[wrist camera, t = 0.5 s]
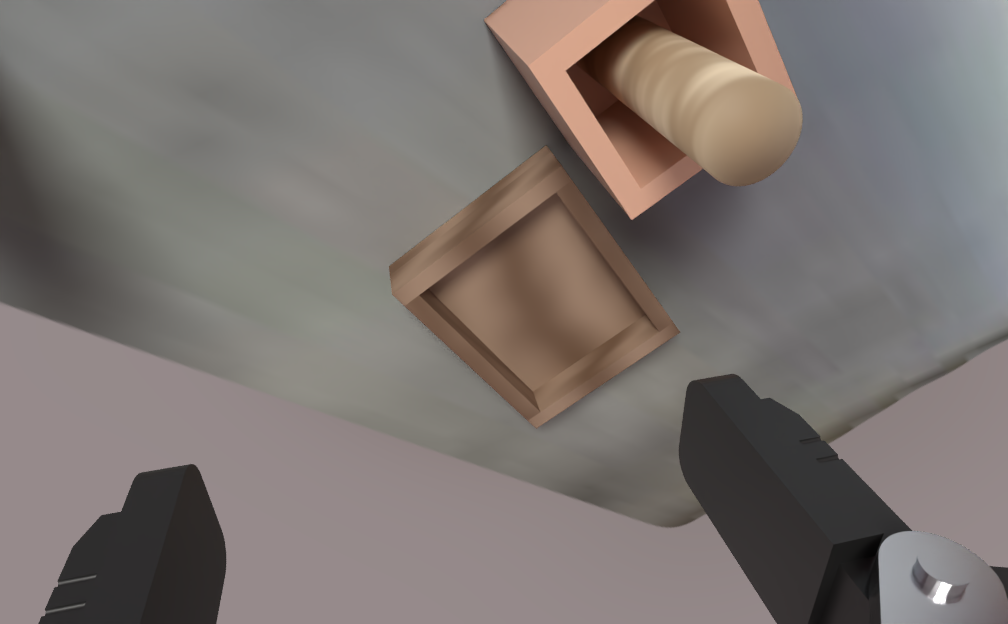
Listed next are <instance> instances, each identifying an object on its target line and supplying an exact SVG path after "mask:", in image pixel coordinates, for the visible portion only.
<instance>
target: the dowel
mask: <svg viewBox="0 0 1008 624" xmlns="http://www.w3.org/2000/svg"><path fill="white" fill-rule="evenodd" d="M576 64H577V65H578V66H579V67H580V68H581V69H582V70H583V71H585V72H586V73H587V74H588V75H590V76H591V77H592V78H593V79H594V80H596V81H597V82H598V83H599V84H600V85H602V86H603V87H604V88H605V89H607V90H608V91H609V92H610V93H611V94H613V95H614V96H615V97H616V98H618V99H619V100H620V101H621V102H622V103H624V104H625V105H626V106H627V107H629V108H630V109H631V110H632V111H633V112H635V113H636V114H637V115H638V116H640V117H641V118H642V119H643V120H644V121H646V122H647V123H648V124H649V125H651V126H652V127H653V128H654V129H655V130H657V131H658V132H659V133H660V134H662V135H663V136H664V137H665V138H666V139H668V140H669V141H670V142H671V143H672V144H674V145H675V146H676V147H677V148H679V149H680V150H681V151H682V152H683V153H685V154H686V155H687V156H688V157H690V158H691V159H692V160H693V161H694V162H696V163H697V164H698V165H699V166H701V167H702V168H703V169H704V170H705V171H707V172H708V173H709V174H710V175H712V176H713V177H714V178H715V179H717V180H718V181H720V182H722V183H723V184H727V185H731V186H746V185H750V184H754V183H756V182H759V181H761V180H763V179H765V178H767V177H768V176H770V175H771V174H773V173H774V172H775V171H776V170H777V169H779V168H780V167H781V166H782V165H783V164H784V162H785V161H786V160H787V159H788V157H789V156H790V155H791V153H792V152H793V150H794V148H795V146H796V144H797V142H798V139H799V136H800V133H801V129H802V109H801V106H800V103H799V101H798V99H797V97H796V96H795V94H794V93H793V92H792V91H791V90H790V89H788V88H787V87H785V86H783V85H781V84H779V83H777V82H775V81H773V80H771V79H769V78H767V77H765V76H763V75H761V74H758V73H756V72H754V71H752V70H750V69H748V68H746V67H744V66H742V65H740V64H738V63H736V62H733V61H731V60H729V59H727V58H725V57H723V56H721V55H719V54H717V53H715V52H713V51H711V50H708V49H706V48H704V47H702V46H700V45H698V44H696V43H694V42H692V41H690V40H688V39H686V38H683V37H681V36H679V35H677V34H675V33H673V32H671V31H669V30H667V29H665V28H663V27H661V26H658V25H656V24H654V23H652V22H650V21H648V20H646V19H644V18H642V17H640V16H638V15H635V16H634V17H633V18H631V19H630V20H629V21H628V22H626V23H625V24H624V25H623V26H621V27H620V28H619V29H618V30H616V31H615V32H614V33H613V34H611V35H610V36H609V37H607V38H606V39H605V40H604V41H602V42H601V43H600V44H599V45H597V46H596V47H595V48H594V49H592V50H591V51H590V52H589V53H587V54H586V55H585V56H584V57H582V58H581V59H580V60H578V61H577V62H576Z"/></svg>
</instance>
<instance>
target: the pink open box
mask: <svg viewBox="0 0 1008 624" xmlns="http://www.w3.org/2000/svg"><path fill="white" fill-rule="evenodd" d="M635 15H638V16H640V17H642V18H644V19H646V20H648V21H650V22H652V23H654V24H656V25H658V26H661V27H663V28H665V29H667V30H669V31H671V32H673V33H675V34H677V35H679V36H681V37H683V38H686V39H688V40H690V41H692V42H694V43H696V44H698V45H700V46H702V47H704V48H706V49H708V50H711V51H713V52H715V53H717V54H719V55H721V56H723V57H725V58H727V59H729V60H731V61H733V62H736V63H738V64H740V65H742V66H744V67H746V68H748V69H750V70H752V71H754V72H756V73H758V74H761V75H763V76H765V77H767V78H769V79H771V80H773V81H775V82H777V83H779V84H781V85H783V86H785V87H787V88H788V89H790V90H791V91H792V92H793V93H794V94H795V96H796V93H795V91H794V88H793V86H792V83H791V81H790V78H789V76H788V73H787V71H786V68H785V66H784V63H783V61H782V58H781V56H780V53H779V51H778V48H777V46H776V43H775V41H774V39H773V36H772V34H771V31H770V29H769V26H768V24H767V21H766V19H765V16H764V14H763V11H762V9H761V6H760V4H759V1H758V0H507V1H506V2H505V3H503V4H502V5H501V6H500V7H499V8H497V9H496V10H495V11H494V12H493V13H491V14H490V15H489V16H488V17H487V18H485V19H484V21H485V22H486V24H487V25H488V27H489V28H490V30H491V31H492V33H493V34H494V36H495V37H496V39H497V40H498V41H499V43H500V44H501V46H502V47H503V49H504V50H505V52H506V53H507V55H508V56H509V57H510V59H511V60H512V62H513V63H514V65H515V66H516V68H517V69H518V71H519V72H520V74H521V75H522V76H523V78H524V79H525V81H526V82H527V84H528V85H529V87H530V88H531V90H532V91H533V92H534V94H535V95H536V97H537V98H538V100H539V101H540V103H541V104H542V106H543V107H544V108H545V110H546V111H547V113H548V114H549V116H550V117H551V119H552V120H553V122H554V123H555V125H556V126H557V127H558V129H559V130H560V132H561V133H562V135H563V136H564V138H565V139H566V141H567V142H568V143H569V145H570V146H571V148H572V149H573V150H574V151H575V153H576V154H577V155H578V156H579V157H580V159H581V160H582V161H583V162H584V163H585V165H586V166H587V167H588V168H589V169H590V171H591V172H592V173H593V174H594V175H595V177H596V178H597V179H598V180H599V181H600V183H601V184H602V185H603V186H604V187H605V189H606V190H607V191H608V192H609V193H610V195H611V196H612V197H613V198H614V199H615V201H616V202H617V203H618V204H619V205H620V207H621V208H622V209H623V210H624V211H625V213H626V214H627V215H628V216H629V217H630V219H631V220H633V219H634V218H635V217H637V216H638V215H640V214H641V213H642V212H644V211H645V210H646V209H648V208H649V207H651V206H652V205H653V204H655V203H656V202H658V201H659V200H660V199H662V198H663V197H665V196H666V195H667V194H669V193H670V192H671V191H673V190H674V189H676V188H677V187H678V186H680V185H681V184H683V183H684V182H685V181H687V180H688V179H689V178H691V177H692V176H694V175H695V174H696V173H698V172H699V171H701V170H702V169H703V168H702V167H701V166H699V165H698V164H697V163H696V162H694V161H693V160H692V159H691V158H690V157H688V156H687V155H686V154H685V153H683V152H682V151H681V150H680V149H679V148H677V147H676V146H675V145H674V144H672V143H671V142H670V141H669V140H668V139H666V138H665V137H664V136H663V135H662V134H660V133H659V132H658V131H657V130H655V129H654V128H653V127H652V126H651V125H649V124H648V123H647V122H646V121H644V120H643V119H642V118H641V117H640V116H638V115H637V114H636V113H635V112H633V111H632V110H631V109H630V108H629V107H627V106H626V105H625V104H624V103H622V102H621V101H620V100H619V99H618V98H616V97H615V96H614V95H613V94H611V93H610V92H609V91H608V90H607V89H605V88H604V87H603V86H602V85H600V84H599V83H598V82H597V81H596V80H594V79H593V78H592V77H591V76H590V75H588V74H587V73H586V72H585V71H583V70H582V69H581V68H580V67H579V66H578V65H577V64H576V62H577V61H578V60H580V59H581V58H582V57H584V56H585V55H586V54H587V53H589V52H590V51H591V50H592V49H594V48H595V47H596V46H597V45H599V44H600V43H601V42H602V41H604V40H605V39H606V38H607V37H609V36H610V35H611V34H613V33H614V32H615V31H616V30H618V29H619V28H620V27H621V26H623V25H624V24H625V23H626V22H628V21H629V20H630V19H631V18H633V17H634V16H635ZM796 97H797V96H796ZM797 99H798V98H797Z"/></svg>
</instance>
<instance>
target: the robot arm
mask: <svg viewBox="0 0 1008 624" xmlns="http://www.w3.org/2000/svg"><path fill="white" fill-rule="evenodd" d="M679 459H680V465H681V469H682V472H683V475H684V478H685V480H686V482H687V484H688V485H689V487H690V489H691V490H692V492H693V493H694V495H695V496H696V498H697V500H698V501H699V503H700V504H701V506H702V507H703V509H704V511H705V512H706V514H707V515H708V516H709V518H710V520H711V521H712V523H713V525H714V526H715V527H716V529H717V531H718V532H719V534H720V535H721V537H722V538H723V540H724V542H725V543H726V545H727V546H728V548H729V549H730V551H731V553H732V554H733V556H734V557H735V559H736V560H737V562H738V564H739V565H740V566H741V568H742V570H743V571H744V573H745V574H746V576H747V578H748V579H749V581H750V582H751V584H752V585H753V587H754V588H755V590H756V592H757V593H758V595H759V596H760V598H761V599H762V601H763V603H764V604H765V606H766V607H767V609H768V610H769V612H770V613H771V615H772V617H773V618H774V620H775V621H776V623H777V624H1008V568H1004V567H993V566H989V565H988V564H987V563H986V562H985V561H984V560H982V559H981V558H980V557H978V556H977V555H976V554H975V553H973V552H972V551H970V550H969V549H967V548H966V547H964V546H962V545H960V544H958V543H956V542H954V541H952V540H950V539H947V538H945V537H942V536H939V535H935V534H932V533H927V532H919V531H912V530H911V529H910V528H909V527H908V526H907V525H906V524H905V523H904V522H903V521H902V520H901V519H900V518H899V517H898V516H897V515H896V514H895V513H894V512H893V511H892V510H891V509H890V508H889V507H888V506H887V505H886V504H885V502H884V501H882V499H881V498H880V497H879V496H878V495H877V494H876V493H875V492H874V491H873V490H872V489H871V488H870V487H869V486H868V485H867V484H866V483H865V482H864V481H863V480H862V479H861V478H860V477H859V476H858V475H857V474H856V473H855V472H854V471H853V470H852V469H851V468H850V467H849V466H848V464H847V463H846V462H845V461H844V460H843V459H840V460H839V459H838V454H837V453H836V452H835V451H834V450H833V449H832V448H831V447H830V446H829V445H828V444H827V443H826V442H825V441H821V439H820V436H819V435H818V434H817V433H816V432H815V431H814V430H813V429H812V427H811V426H810V425H809V424H808V423H807V422H806V421H805V420H804V419H803V418H802V417H801V416H800V415H799V414H797V413H795V412H793V411H792V410H790V409H788V408H787V407H785V406H783V405H781V404H780V403H778V402H776V401H774V400H773V399H771V398H766V399H760V398H759V397H758V396H757V395H756V394H755V393H754V391H753V390H752V389H751V388H750V387H749V386H748V385H747V384H746V383H745V382H744V381H743V380H742V379H741V378H740V377H739V376H737V375H735V374H729V375H723V376H717V377H712V378H706V379H700V380H694V381H691V382H690V383H689V385H688V387H687V391H686V398H685V405H684V413H683V421H682V428H681V436H680V444H679ZM225 572H226V548H225V541H224V536H223V533H222V530H221V527H220V525H219V522H218V519H217V516H216V514H215V511H214V508H213V506H212V503H211V501H210V498H209V495H208V492H207V490H206V487H205V484H204V482H203V479H202V476H201V474H200V471H199V470H198V468H197V467H196V466H195V465H193V464H190V465H184V466H178V467H172V468H166V469H160V470H154V471H149V472H142V473H139V474H138V475H137V476H136V477H135V479H134V481H133V483H132V485H131V488H130V490H129V493H128V495H127V498H126V501H125V503H124V506H123V508H122V511H121V512H117V513H112V514H106V515H102V516H100V517H99V519H98V520H97V521H96V522H95V523H94V524H93V525H92V526H91V527H90V528H89V530H88V531H87V532H86V533H85V534H84V535H83V536H82V537H81V538H80V540H79V541H78V542H77V543H76V544H75V545H74V546H73V548H72V550H71V553H70V554H69V557H68V559H67V561H66V564H65V566H64V568H63V570H62V572H61V575H60V577H59V579H58V587H55V588H54V590H53V592H52V595H51V597H50V599H49V601H48V604H47V606H46V608H45V611H46V614H45V616H43V617H41V619H40V622H39V624H216V621H217V615H218V611H219V605H220V600H221V595H222V589H223V584H224V578H225Z"/></svg>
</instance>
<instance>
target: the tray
mask: <svg viewBox="0 0 1008 624" xmlns="http://www.w3.org/2000/svg"><path fill="white" fill-rule="evenodd" d="M389 271H390V280H391V288H392V295H393V296H394V297H395V298H397V299H398V300H399V301H400V302H401V303H402V304H403V305H404V306H405V307H406V308H407V309H408V310H409V311H411V312H412V313H413V314H414V315H415V316H416V317H417V318H418V319H419V320H420V321H421V322H422V323H423V324H424V325H426V326H427V327H428V328H429V329H430V330H431V331H432V332H433V333H434V334H435V335H436V336H437V337H438V338H440V339H441V340H442V341H443V342H444V343H445V344H446V345H447V346H448V347H449V348H450V349H451V350H452V351H453V352H455V353H456V354H457V355H458V356H459V357H460V358H461V359H462V360H463V361H464V362H465V363H466V364H467V365H469V366H470V367H471V368H472V369H473V370H474V371H475V372H476V373H477V374H478V375H479V376H480V377H481V378H482V379H484V380H485V381H486V382H487V383H488V384H489V385H490V386H491V387H492V388H493V389H494V390H495V391H496V392H498V393H499V394H500V395H501V396H502V397H503V398H504V399H505V400H506V401H507V402H508V403H509V404H510V405H511V406H513V407H514V408H515V409H516V410H517V411H518V412H519V413H520V414H521V415H522V416H523V417H524V418H525V419H527V420H528V421H529V422H530V423H531V424H532V425H533V426H534V427H535V428H538V427H539V426H541V425H542V424H544V423H545V422H547V421H548V420H550V419H551V418H553V417H554V416H556V415H557V414H559V413H560V412H562V411H563V410H565V409H566V408H568V407H569V406H571V405H572V404H574V403H575V402H577V401H578V400H580V399H581V398H583V397H584V396H586V395H587V394H589V393H590V392H592V391H593V390H595V389H596V388H598V387H599V386H601V385H602V384H604V383H605V382H607V381H608V380H610V379H611V378H613V377H614V376H616V375H617V374H619V373H620V372H622V371H623V370H625V369H626V368H628V367H629V366H631V365H632V364H634V363H635V362H637V361H638V360H640V359H641V358H642V357H644V356H645V355H647V354H648V353H650V352H651V351H653V350H654V349H656V348H657V347H659V346H660V345H662V344H663V343H665V342H666V341H668V340H669V339H671V338H672V337H674V336H675V335H677V334H678V333H680V331H679V330H678V328H677V327H676V326H675V324H674V323H673V321H672V320H671V319H670V317H669V316H668V314H667V313H666V312H665V310H664V309H663V307H662V306H661V305H660V303H659V302H658V300H657V299H656V297H655V296H654V295H653V293H652V292H651V290H650V289H649V288H648V286H647V285H646V283H645V282H644V281H643V279H642V278H641V276H640V275H639V274H638V272H637V271H636V269H635V268H634V267H633V265H632V264H631V262H630V261H629V260H628V258H627V257H626V255H625V254H624V253H623V251H622V250H621V248H620V247H619V246H618V244H617V243H616V241H615V240H614V239H613V237H612V236H611V234H610V233H609V231H608V230H607V229H606V227H605V226H604V224H603V223H602V222H601V220H600V219H599V217H598V216H597V215H596V213H595V212H594V210H593V209H592V208H591V206H590V205H589V203H588V202H587V201H586V199H585V198H584V196H583V195H582V194H581V192H580V191H579V189H578V188H577V187H576V185H575V184H574V182H573V181H572V180H571V178H570V177H569V175H568V174H567V173H566V171H565V170H564V168H563V167H562V165H561V164H560V163H559V161H558V160H557V159H556V157H555V156H554V155H553V153H552V152H551V151H550V149H549V148H548V147H547V145H546V146H544V147H543V148H542V149H541V150H539V151H538V152H537V153H535V154H534V155H533V156H531V157H530V158H529V159H528V160H526V161H525V162H524V163H522V164H521V165H520V166H518V167H517V168H516V169H515V170H513V171H512V172H511V173H509V174H508V175H507V176H506V177H504V178H503V179H502V180H500V181H499V182H498V183H496V184H495V185H494V186H493V187H491V188H490V189H489V190H487V191H486V192H485V193H483V194H482V195H481V196H480V197H478V198H477V199H476V200H474V201H473V202H472V203H471V204H469V205H468V206H467V207H465V208H464V209H463V210H461V211H460V212H459V213H458V214H456V215H455V216H454V217H452V218H451V219H450V220H448V221H447V222H446V223H445V224H443V225H442V226H441V227H439V228H438V229H437V230H436V231H434V232H433V233H432V234H430V235H429V236H428V237H426V238H425V239H424V240H423V241H421V242H420V243H419V244H417V245H416V246H415V247H414V248H412V249H411V250H410V251H408V252H407V253H406V254H404V255H403V256H402V257H401V258H399V259H398V260H397V261H395V262H394V263H393V264H391V265H390V266H389Z"/></svg>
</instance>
